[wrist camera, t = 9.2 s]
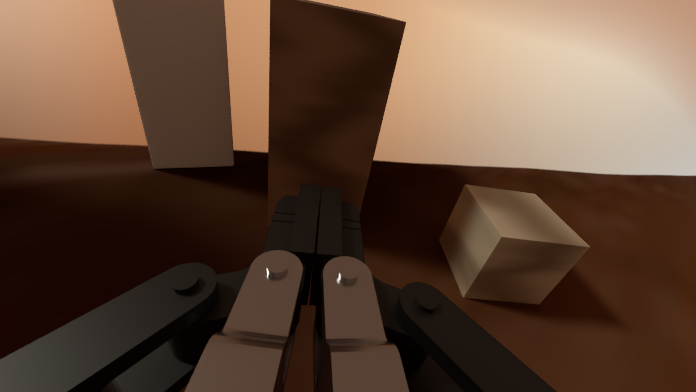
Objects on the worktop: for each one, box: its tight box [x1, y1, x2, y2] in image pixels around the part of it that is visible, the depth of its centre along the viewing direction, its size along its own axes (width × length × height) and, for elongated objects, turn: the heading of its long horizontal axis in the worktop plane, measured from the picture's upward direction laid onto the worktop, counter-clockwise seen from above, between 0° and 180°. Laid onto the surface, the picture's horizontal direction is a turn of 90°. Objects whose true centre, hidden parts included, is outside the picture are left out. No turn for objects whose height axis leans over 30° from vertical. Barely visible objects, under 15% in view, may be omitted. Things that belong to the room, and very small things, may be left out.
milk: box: [113, 0, 234, 169], centre depth 20 cm, size 6×6×22 cm
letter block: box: [439, 184, 590, 304], centre depth 18 cm, size 5×5×5 cm
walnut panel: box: [268, 0, 406, 226], centre depth 22 cm, size 6×15×13 cm, turn 1°
